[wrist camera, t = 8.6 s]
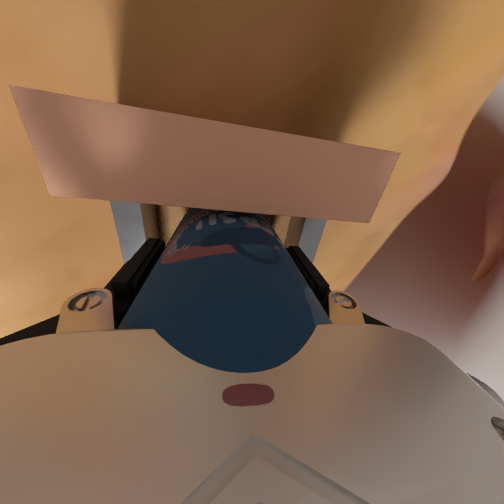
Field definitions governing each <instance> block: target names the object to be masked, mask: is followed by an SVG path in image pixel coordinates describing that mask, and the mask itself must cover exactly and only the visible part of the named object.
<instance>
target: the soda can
mask: <svg viewBox="0 0 504 504" xmlns="http://www.w3.org/2000/svg"><path fill="white" fill-rule="evenodd" d="M320 324H333V323H332V322H331V320H330V319H329V317H328V315H327V314H326V312H325V311H324V309H323V307H322V306H321V304H320V303H319V301H318V299H317V298H316V296H315V295H314V293H313V291H312V290H311V288H310V287H309V285H308V283H307V282H306V280H305V279H304V277H303V275H302V274H301V272H300V271H299V269H298V267H297V266H296V264H295V263H294V261H293V259H292V258H291V256H290V255H289V253H288V251H287V250H286V248H285V247H284V245H283V243H282V242H281V240H280V239H279V237H278V236H277V234H276V232H275V231H274V229H273V228H272V226H271V224H270V223H269V221H268V220H267V218H266V217H265V215H264V214H259V213H248V212H236V211H225V210H214V209H202V208H192V209H191V210H190V211H189V212H188V213H187V214H186V215H185V216H184V217H183V219H182V220H181V222H180V223H179V225H178V227H177V229H176V230H175V232H174V234H173V235H172V237H171V239H170V240H169V242H168V244H167V246H166V247H165V249H164V251H163V252H162V254H161V256H160V257H159V259H158V261H157V262H156V264H155V266H154V268H153V269H152V271H151V273H150V274H149V276H148V278H147V279H146V281H145V283H144V284H143V286H142V288H141V290H140V291H139V293H138V295H137V296H136V298H135V300H134V301H133V303H132V305H131V306H130V308H129V310H128V312H127V313H126V315H125V317H124V318H123V320H122V322H121V323H120V325H119V327H118V328H117V329H154V330H155V331H156V332H157V333H158V335H160V336H161V337H162V338H163V339H164V340H165V341H166V342H167V343H168V344H169V345H170V346H172V347H173V348H175V349H176V350H177V351H179V352H180V353H181V354H183V355H184V356H186V357H188V358H190V359H192V360H194V361H195V362H197V363H200V364H202V365H205V366H207V367H210V368H213V369H217V370H221V371H226V372H235V373H254V372H261V371H266V370H269V369H272V368H276V367H278V366H280V365H282V364H283V363H285V362H287V361H288V360H290V359H291V358H292V357H293V356H295V355H296V354H297V353H298V352H299V351H300V350H301V349H302V348H303V346H304V345H305V344H306V343H307V341H308V340H309V338H310V337H311V335H312V334H313V332H314V330H315V328H316V326H317V325H320ZM274 395H275V393H274V391H273V389H272V388H271V387H269V386H268V385H262V384H254V383H252V384H238V385H234V386H229V387H227V388H226V389H225V390H224V391H223V394H222V399H223V402H224V403H226V404H228V405H230V406H240V407H242V406H257V405H263V404H268V403H271V402H272V400H273V399H274Z"/></svg>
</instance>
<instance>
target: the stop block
mask: <svg viewBox="0 0 504 504" xmlns="http://www.w3.org/2000/svg"><path fill="white" fill-rule="evenodd" d="M9 88H10V90H11V93H12V96H13V98H14V101H15V104H16V106H17V109H18V111H19V114H20V117H21V119H22V122H23V125H24V127H25V130H26V133H27V135H28V138H29V141H30V143H31V146H32V149H33V151H34V154H35V156H36V159H37V162H38V164H39V167H40V170H41V172H42V175H43V178H44V180H45V183H46V186H47V188H48V191H49V194H50V195H54V196H65V197H77V198H88V199H99V200H111V201H122V202H134V203H145V204H157V205H168V206H179V207H191V208H202V209H214V210H225V211H236V212H248V213H259V214H271V215H282V216H294V217H305V218H316V219H328V220H339V221H351V222H362V223H369V222H370V220H371V218H372V216H373V213H374V211H375V209H376V207H377V204H378V202H379V200H380V198H381V196H382V193H383V191H384V189H385V187H386V184H387V182H388V180H389V178H390V175H391V173H392V171H393V169H394V167H395V164H396V162H397V160H398V158H399V155H400V153H399V152H393V151H387V150H381V149H376V148H370V147H364V146H358V145H353V144H347V143H341V142H335V141H329V140H324V139H318V138H312V137H306V136H301V135H295V134H289V133H283V132H278V131H272V130H266V129H260V128H254V127H249V126H243V125H237V124H231V123H226V122H220V121H214V120H208V119H203V118H197V117H191V116H185V115H179V114H174V113H168V112H162V111H156V110H151V109H145V108H139V107H133V106H127V105H122V104H116V103H110V102H104V101H99V100H93V99H87V98H81V97H76V96H70V95H64V94H58V93H52V92H47V91H41V90H35V89H29V88H24V87H18V86H12V85H9Z"/></svg>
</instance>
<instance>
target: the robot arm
mask: <svg viewBox="0 0 504 504" xmlns="http://www.w3.org/2000/svg"><path fill="white" fill-rule="evenodd" d="M164 249H165V242H164V241H161V239H160V238H148V239H147V240H146V241H145V243H144V244H143V245H142V246H141V247H140V248H139V250H138V251H137V252H136V253H135V254H134V255H133V257H132V258H131V259H130V260H128V261H127V262H126V263H125V264H124V265H123V267H122V268H121V269H120V270H119V271H118V272H117V274H116V275H115V276H114V277H113V278H112V279H111V281H110V282H109V283H108V284H107V285H106V286H105V287H104V288H92V289H87V290H84V291H81V292H79V293H76V294H74V295H73V296H71V297H69V298H68V299H67V300H66V301H65V302H64V303H63V305H62V308H61V312H60V314H59V315H57V316H55V317H52V318H50V319H47V320H45V321H42V322H40V323H37V324H35V325H32V326H30V327H27V328H25V329H23V330H20V331H18V332H15V333H13V334H10V335H8V336H5V337H3V338H0V504H504V402H503V400H502V399H501V398H500V396H499V395H498V394H497V393H496V392H495V391H494V390H493V389H491V388H490V387H489V386H488V385H486V384H485V383H483V382H482V381H480V380H478V379H477V378H475V377H473V376H471V375H469V374H468V373H466V372H464V371H463V370H462V369H461V368H460V367H459V366H458V365H456V364H455V363H454V362H453V361H452V360H451V359H450V358H448V357H447V356H446V355H445V354H443V353H442V352H441V351H440V350H439V349H437V348H436V347H435V346H433V345H432V344H431V343H429V342H428V341H426V340H425V339H423V338H421V337H419V336H416V335H414V334H411V333H409V332H406V331H402V330H399V329H396V328H392V327H391V326H388V325H386V324H384V323H382V322H380V321H378V320H376V319H374V318H372V317H370V316H368V315H366V314H364V313H362V311H361V307H360V304H359V302H358V301H357V300H356V299H355V298H354V297H353V296H351V295H349V294H348V293H345V292H342V291H331V290H330V289H329V286H330V285H329V284H328V283H327V282H326V280H325V279H324V278H323V277H322V275H321V274H320V273H319V271H318V270H317V269H316V268H315V266H314V265H313V264H312V262H311V261H310V260H309V259H308V257H307V256H306V255H305V254H304V252H303V251H302V250H301V248H300V247H299V246H289V247H288V248H286V250H287V251H288V253H289V255H290V256H291V258H292V259H293V261H294V263H295V264H296V266H297V267H298V269H299V271H300V272H301V274H302V275H303V277H304V279H305V280H306V282H307V283H308V285H309V287H310V288H311V290H312V291H313V293H314V295H315V296H316V298H317V299H318V301H319V303H320V304H321V306H322V307H323V309H324V311H325V312H326V314H327V315H328V317H329V319H330V320H331V322H332V323H333V324H320V325H317V326H316V328H315V330H314V332H313V334H312V335H311V337H310V338H309V340H308V341H307V343H306V344H305V345H304V346H303V348H302V349H301V350H300V351H299V352H298V353H297V354H296V355H295V356H293V357H292V358H291V359H290V360H288V361H287V362H285V363H283V364H282V365H280V366H278V367H276V368H272V369H269V370H266V371H261V372H254V373H235V372H226V371H221V370H217V369H213V368H210V367H207V366H205V365H202V364H200V363H197V362H195V361H194V360H192V359H190V358H188V357H186V356H184V355H183V354H181V353H180V352H179V351H177V350H176V349H175V348H173V347H172V346H170V345H169V344H168V343H167V342H166V341H165V340H164V339H163V338H162V337H161V336H160V335H158V333H157V332H156V331H155V330H154V329H117V328H118V327H119V325H120V323H121V322H122V320H123V318H124V317H125V315H126V313H127V312H128V310H129V308H130V306H131V305H132V303H133V301H134V300H135V298H136V296H137V295H138V293H139V291H140V290H141V288H142V286H143V284H144V283H145V281H146V279H147V278H148V276H149V274H150V273H151V271H152V269H153V268H154V266H155V264H156V262H157V261H158V259H159V257H160V256H161V254H162V252H163V251H164ZM252 383H254V384H262V385H268V386H269V387H271V388H272V389H273V391H274V393H275V395H274V399H273V400H272V402H271V403H268V404H263V405H257V406H242V407H240V406H230V405H228V404H226V403H224V402H223V399H222V394H223V391H224V390H225V389H226V388H227V387H229V386H234V385H238V384H252Z"/></svg>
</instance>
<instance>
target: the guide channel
mask: <svg viewBox="0 0 504 504" xmlns="http://www.w3.org/2000/svg"><path fill="white" fill-rule="evenodd" d="M110 203H111V208H112V212H113V216H114V221H115V225H116V229H117V234H118V238H119V242H120V247H121V251H122V255H123V259H124V264H125V263H126V262H127V261H128V260H130V259H131V258H132V257H133V255H134V254H135V253H136V252H137V251H138V250H139V248H140V247H141V246H142V245H143V244H144V243H145V241H146V240H147V239H148V238H160V237H159V228H158V220H157V211H156V204H145V203H134V202H122V201H111V200H110ZM326 221H327V219H316V218H305V217H294V216H291V220H290V224H289V229H288V233H287V237H286V241H285V246H284V247H285V248H288V247H289V246H299V247H300V248H301V250H302V251H303V252H304V254H305V255H306V256H307V257H308V259H309V260H310V261H311V262H312V263H313V260H314V257H315V254H316V251H317V248H318V245H319V242H320V239H321V236H322V233H323V230H324V227H325V224H326Z"/></svg>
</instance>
